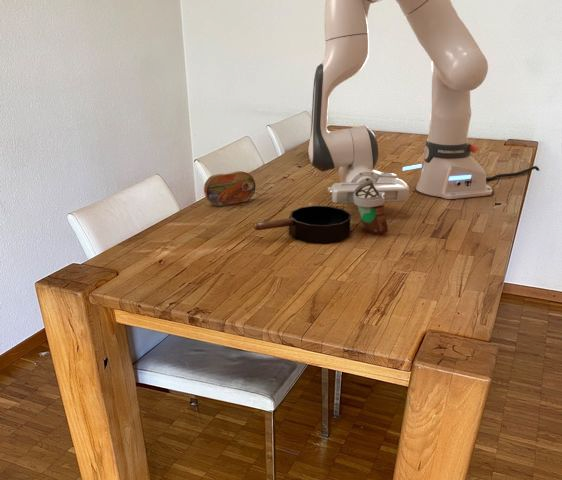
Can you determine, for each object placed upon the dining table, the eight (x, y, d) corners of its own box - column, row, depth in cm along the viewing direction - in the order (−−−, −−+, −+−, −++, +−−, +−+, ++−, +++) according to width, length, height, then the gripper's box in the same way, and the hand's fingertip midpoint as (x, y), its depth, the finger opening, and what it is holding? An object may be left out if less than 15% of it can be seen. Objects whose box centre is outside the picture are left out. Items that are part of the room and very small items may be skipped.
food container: (356, 221, 153) (347, 186, 147) (378, 214, 153) (371, 178, 147) (365, 241, 144) (356, 204, 138) (389, 234, 143) (382, 196, 137)
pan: (332, 219, 155) (333, 202, 152) (360, 238, 143) (361, 220, 141) (244, 232, 147) (243, 213, 144) (265, 253, 135) (265, 233, 133)
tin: (207, 208, 163) (205, 177, 158) (203, 205, 165) (201, 174, 160) (256, 200, 168) (255, 170, 164) (251, 197, 171) (251, 168, 166)
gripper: (326, 175, 155) (337, 190, 144) (401, 173, 157) (417, 187, 146) (325, 199, 159) (335, 215, 147) (398, 196, 161) (414, 212, 150)
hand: (377, 201), depth 147 cm, fingers closed on food container
